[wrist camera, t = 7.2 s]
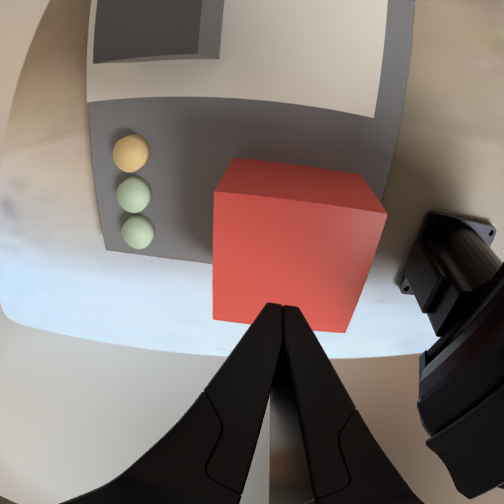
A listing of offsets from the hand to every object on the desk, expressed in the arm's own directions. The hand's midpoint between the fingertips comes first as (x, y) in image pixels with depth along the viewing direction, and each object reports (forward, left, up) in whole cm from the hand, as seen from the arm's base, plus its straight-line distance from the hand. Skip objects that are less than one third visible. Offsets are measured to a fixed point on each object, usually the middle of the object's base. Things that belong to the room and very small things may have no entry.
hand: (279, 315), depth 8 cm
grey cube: (+5, -8, -8) cm, 13 cm away
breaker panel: (+3, -4, -11) cm, 12 cm away
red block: (-1, +2, -10) cm, 10 cm away
